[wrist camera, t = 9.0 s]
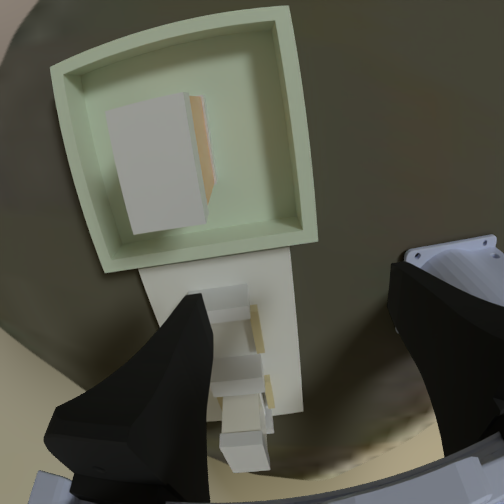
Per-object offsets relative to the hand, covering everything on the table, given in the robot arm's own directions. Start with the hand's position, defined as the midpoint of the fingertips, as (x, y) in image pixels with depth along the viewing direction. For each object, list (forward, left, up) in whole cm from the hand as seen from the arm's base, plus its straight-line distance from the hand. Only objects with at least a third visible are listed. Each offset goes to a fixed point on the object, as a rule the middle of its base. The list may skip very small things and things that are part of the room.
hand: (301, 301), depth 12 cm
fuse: (+4, +15, -8) cm, 18 cm away
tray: (+4, -6, -9) cm, 12 cm away
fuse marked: (+4, -5, -9) cm, 11 cm away
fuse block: (+4, +11, -9) cm, 15 cm away
